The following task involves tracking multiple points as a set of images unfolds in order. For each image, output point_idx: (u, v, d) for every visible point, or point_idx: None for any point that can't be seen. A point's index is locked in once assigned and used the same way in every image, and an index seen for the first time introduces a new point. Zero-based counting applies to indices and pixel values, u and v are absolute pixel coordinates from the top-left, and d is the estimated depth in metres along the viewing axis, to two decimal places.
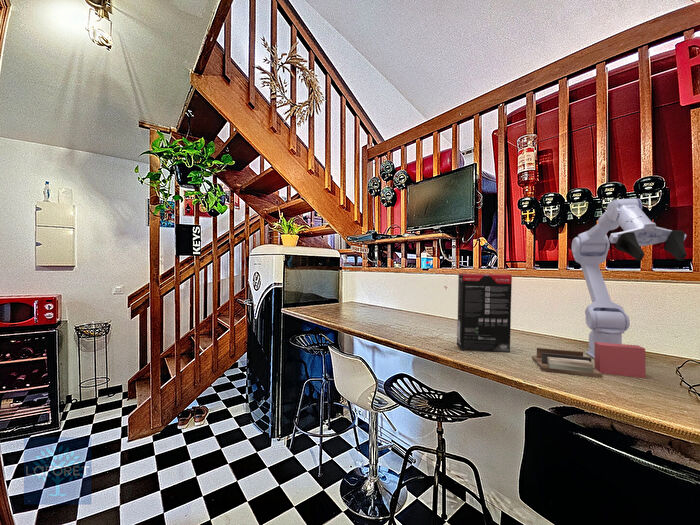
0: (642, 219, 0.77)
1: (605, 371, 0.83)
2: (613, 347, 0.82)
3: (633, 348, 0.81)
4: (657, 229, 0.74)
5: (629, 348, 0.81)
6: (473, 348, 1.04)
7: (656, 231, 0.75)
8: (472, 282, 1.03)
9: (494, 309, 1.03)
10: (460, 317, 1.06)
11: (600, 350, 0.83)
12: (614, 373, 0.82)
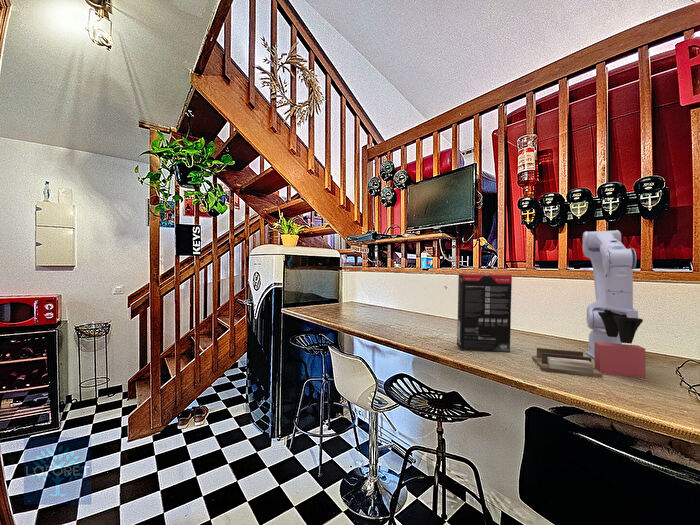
0: (606, 295, 0.84)
1: (605, 371, 0.83)
2: (613, 347, 0.82)
3: (633, 348, 0.81)
4: (611, 310, 0.82)
5: (629, 348, 0.81)
6: (473, 348, 1.04)
7: None
8: (472, 282, 1.03)
9: (494, 309, 1.02)
10: (460, 317, 1.06)
11: (600, 350, 0.83)
12: (614, 373, 0.82)
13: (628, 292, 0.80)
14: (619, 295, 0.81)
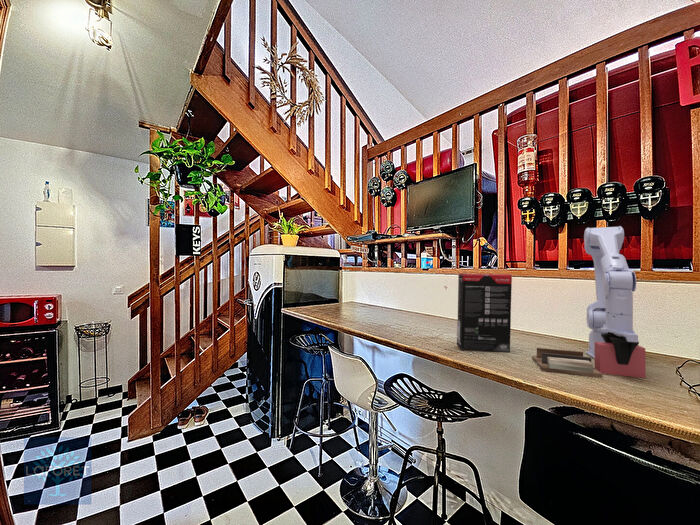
0: (606, 317, 0.84)
1: (605, 371, 0.83)
2: (613, 347, 0.82)
3: None
4: None
5: None
6: (473, 348, 1.04)
7: None
8: (472, 282, 1.03)
9: (494, 309, 1.02)
10: (460, 317, 1.06)
11: (600, 350, 0.83)
12: (614, 373, 0.82)
13: (628, 315, 0.80)
14: (619, 318, 0.81)
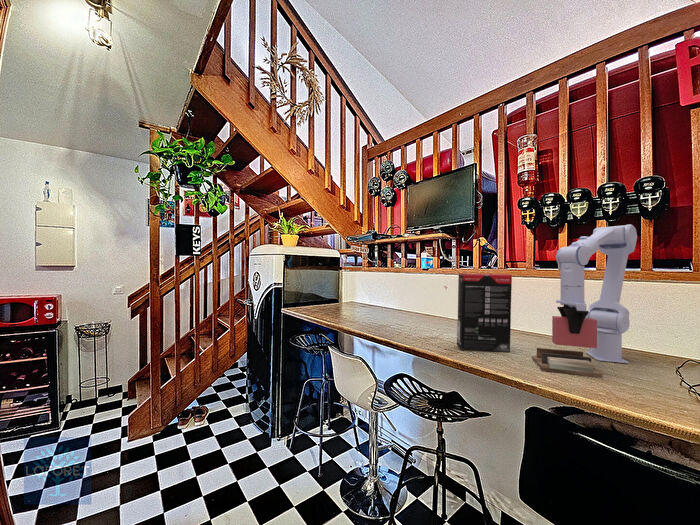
0: None
1: (560, 342, 0.87)
2: None
3: (586, 320, 0.85)
4: (564, 303, 0.87)
5: None
6: (473, 348, 1.04)
7: None
8: (472, 282, 1.03)
9: (494, 309, 1.02)
10: (460, 317, 1.06)
11: (556, 323, 0.88)
12: (569, 344, 0.87)
13: (579, 287, 0.85)
14: (571, 290, 0.86)
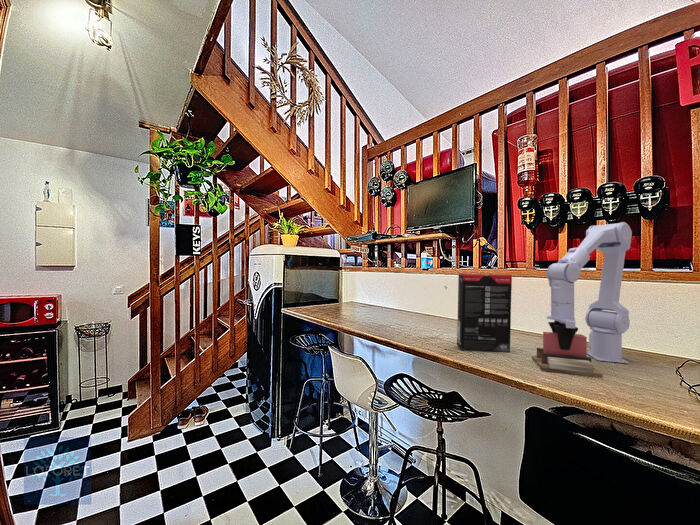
0: (551, 306, 0.90)
1: None
2: None
3: (576, 337, 0.86)
4: (555, 320, 0.88)
5: None
6: (473, 348, 1.04)
7: None
8: (472, 282, 1.03)
9: (494, 309, 1.02)
10: (460, 317, 1.06)
11: (546, 339, 0.89)
12: None
13: (569, 303, 0.86)
14: (561, 306, 0.87)
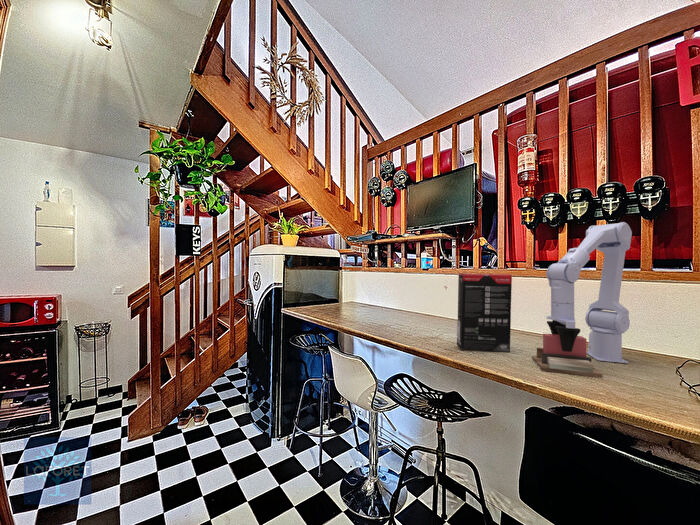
0: (551, 306, 0.90)
1: None
2: (558, 338, 0.88)
3: (576, 338, 0.86)
4: (555, 320, 0.88)
5: None
6: (473, 348, 1.04)
7: None
8: (472, 282, 1.03)
9: (494, 309, 1.03)
10: (460, 317, 1.06)
11: (546, 341, 0.89)
12: None
13: (569, 304, 0.86)
14: (561, 306, 0.87)
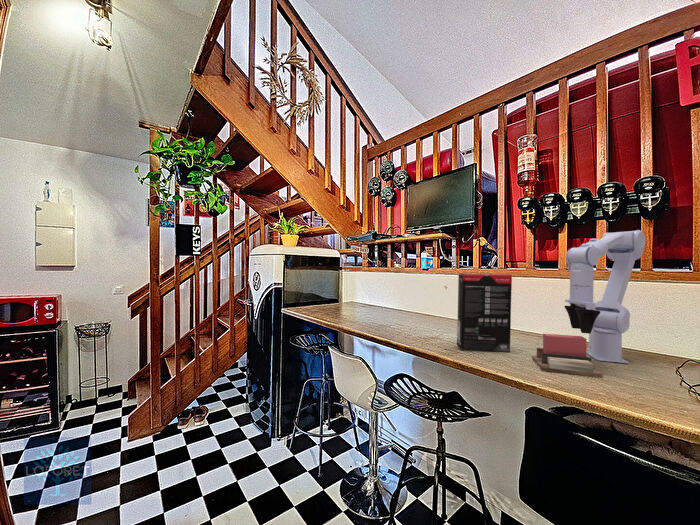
0: (570, 290, 0.91)
1: None
2: (558, 338, 0.88)
3: (576, 338, 0.86)
4: (574, 303, 0.89)
5: (572, 338, 0.87)
6: (473, 348, 1.04)
7: None
8: (472, 282, 1.03)
9: (494, 309, 1.02)
10: (460, 317, 1.06)
11: (546, 341, 0.89)
12: None
13: (589, 286, 0.87)
14: (581, 289, 0.88)
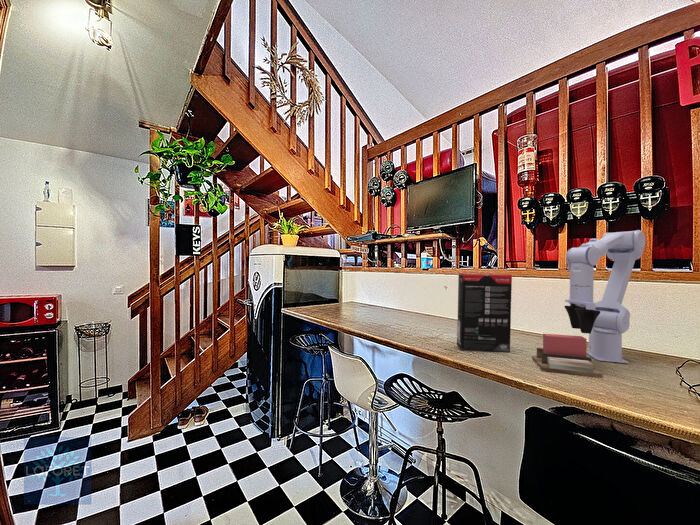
0: (570, 290, 0.91)
1: None
2: (558, 338, 0.88)
3: (576, 338, 0.86)
4: (574, 303, 0.89)
5: (572, 338, 0.87)
6: (473, 348, 1.04)
7: None
8: (472, 282, 1.03)
9: (494, 309, 1.02)
10: (460, 317, 1.06)
11: (546, 341, 0.89)
12: None
13: (589, 286, 0.87)
14: (581, 289, 0.88)
